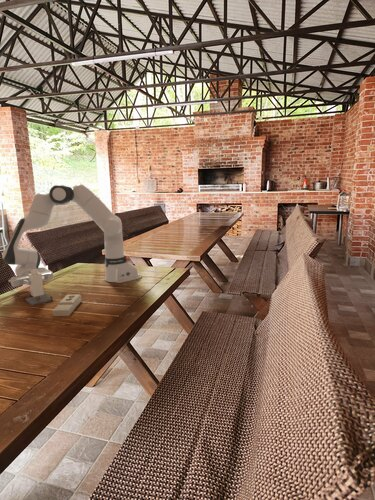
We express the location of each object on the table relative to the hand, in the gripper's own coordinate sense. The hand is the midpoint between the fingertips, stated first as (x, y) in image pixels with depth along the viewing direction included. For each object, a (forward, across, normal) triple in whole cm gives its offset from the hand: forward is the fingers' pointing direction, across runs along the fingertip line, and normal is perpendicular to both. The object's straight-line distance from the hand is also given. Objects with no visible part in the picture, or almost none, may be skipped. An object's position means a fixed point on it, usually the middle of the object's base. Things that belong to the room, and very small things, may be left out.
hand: (36, 281), depth 160 cm
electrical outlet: (+20, +8, +11) cm, 24 cm away
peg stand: (-1, 0, +10) cm, 10 cm away
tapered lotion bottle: (-1, 0, +7) cm, 7 cm away
